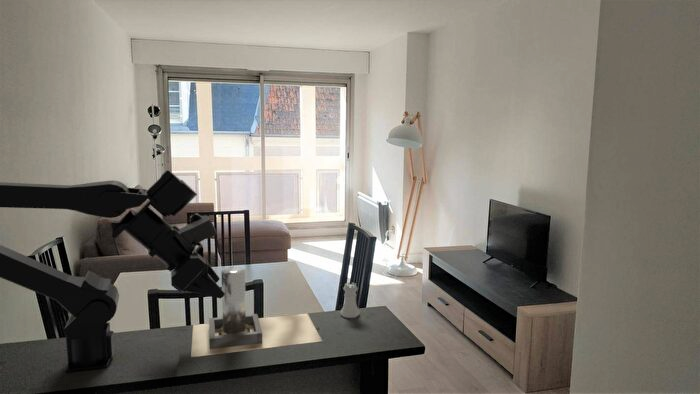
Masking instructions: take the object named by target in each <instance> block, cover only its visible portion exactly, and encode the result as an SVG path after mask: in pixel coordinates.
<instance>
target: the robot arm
mask: <svg viewBox="0 0 700 394" xmlns="http://www.w3.org/2000/svg"><path fill="white" fill-rule="evenodd" d="M196 196H198V194H197V192H196V191H195V190H194V189H192V187H191V186H190V185H188V184H187V183H186V181H184V180H183V179H180V178H179V177H178V176H177V175H175V174H174V173H173V172H172V171H170V170H169V169H166V170H165V171H164V172H163V173H162V174H161V176H160V177H159V178H158V179H157V180H156V181H155V182H154V183H153V184H151V186H150V187H149V188H147V189H146V188H141V187H140V188H137V187H136V188H134V187H129V186H127V185H125V183H123V182H121V181H118V180H103V181H95V182H87V183H79V184H70V185H69V184H66V185H65V184H49V183H48V184H44V183H43V184H42V183H28V182H27V183H26V182H25V183H24V182H6V181H5V182H3V181H0V208H7V209H8V208H12V209H13V208H14V209H16V208H17V209H46V210H47V209H48V210H49V209H50V210H51V209H52V210H53V209H54V210H69V211H74V212H77V213H81V214H85V215H89V216H96V217H99V218H106V219H107V218H108V219H114V218H118V217H120V216H121V215H123V214H124V213H126V211H127V210H129V209H130V210H129V211H128V212H127V213H126V214H124V216H123V217H122V218H120V219H119V220H112V221H111V222H110V227H111V238H112V239H114V240H115V239H117V238H118V237H119V235H121V234H123V232H125V233H126V234H127V235H128V236H130V238H131V239H133V240H134V241H136V242H137V243H138V244H139V245H141V246H142V247H143V248H144V249H146V250H147V251H148V252H147V253H148V256H150V257H151V258H154V257H156V258H157V259H158V260H160V262H162V263H163V264H165V265H166V269H167V270H168V271H169V272H170V275H171V276H170V278H171V281H170V282H171V286H172V287H173V288H174V289H175V290H177V291H178V292H179V293H181V292H184V293H185V292H188V293H193V294H194V293H195V294H198V295H199V294H200V295H202V296H203V295H205V296H207V297H211V298H217V299H222V297H223V296H224V295H225V294H224V292H223V291H222V287H220V286H219V285H218V284H217V283H218V282H219V281H220V280H221V279H220V277H219V275H218V274H217V273H216V272H215V270H214V269H213V268H212V266H211V265H210V263H209V262H208V261H207V259H206V258H205V257H204V246H203V244H202V243H201V242H203V241H205V240H207V239H209V238H213V237H215V236H217V234H218V231H217V229H216V228H215V226H214V224H213V222H212V220H211V218H210V216H209V215H203V216H202V215H200V214H199V213H198V212H197V213H194V214H191V215H190V216H189V224H188V223H186V225H185V226H183V227H181V228H179V227H178V226H177V225H175V224H170V223H168V222H167V221H166V220H164V219H163V218H162V217H161V216H163V217H165V218H167V217H170V216H172V217H176V216H177V215H178V214H179V213H181V211H182V210H184V208H185V207H186V206H188V204H189V203H190V202H191V201H192V200H193V199H194V198H196ZM147 200H148V201H147ZM146 201H147V202H146ZM142 205H143V206H142ZM140 206H141V207H140ZM150 206H151V207H153V209H155V210H156V211H157V212H158V213H159V214H160V215H161V216H160V215H158V213H156V212H155V211H154V210H153V209H151V207H150ZM138 207H140V208H138ZM134 208H138V210H137V211H135V210H133V209H134ZM196 246H197V247H196ZM0 279H3V280H5V281H7V282H10V283H12V284H15V285H17V286H20V287H22V288H26V289H27V290H30V291H31V292H35V293H38V294H40V295H42V296H44V297H46V298H50V299H52V300H54V301H55V302H57V303H58V304H59V305H60V306H61V307H62V308H64V310H65V311H66V312H68V313H69V315H70V316H69V318H68V319H67V322H66V324H65V327H64V328H63V332H64V333H65V342H66V359H67V364H66V366H65V368H64V372H65V373H66V372H67V373H68V372H75V371H85V370H92V369H93V370H94V369H101V368H107V367H108V366H109V363H110V360H111V359H113V357H114V355H115V352H116V350H115V349H116V348H115V347H116V346H115V333H114V331H113V330H111V324H110V321H111V320H112V319H113V318H114V316H115V315H116V312H117V308H118V305H119V300H120V293H119V289H118V288H117V286H116V285H115V284H113V283H111V282H112V279H111V278H104V277H101V276H100V275H98V274H97V273H95V272H93V271H91V270H88V271H87V273H86V275H85V276H75V275H70V274H68V273H66V272H64V271H61V270H58V269H57V268H54V267H52V266H50V265H47V264H45V263H43V262H40V261H38V260H36V259H34V258H32V257H29V256H27V255H24V254H22V253H21V252H18V251H16V250H14V249H10V248H8V247H6V246H4V245H2V244H0Z"/></svg>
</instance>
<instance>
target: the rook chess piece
mask: <svg viewBox="0 0 700 394" xmlns="http://www.w3.org/2000/svg"><path fill="white" fill-rule="evenodd" d="M342 289H343V291H344V294H343V296H344V303H343V307H342V308H341V310H340V315H341V316H342V317H344V318H346V319H355V318H357V317H358V316H360V314H361V313H360V310H359V307H358V306H357V298H356V297H357V293H356V292H357V291H358V289H359V287H358V286H357V283H356V282H355V283H354V282H351V283H350V281H349V282H346V283H344V287H343V288H342Z"/></svg>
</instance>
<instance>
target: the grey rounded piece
mask: <svg viewBox="0 0 700 394" xmlns="http://www.w3.org/2000/svg"><path fill="white" fill-rule="evenodd" d="M221 290H222V291H223V292H224V294H225V295H224V296H223V297H222V298H221V300H222V301H221V302H222V303H221V308H222V310H221V311H222V314H221V315H222V317H223V326H222V327H221V328H220V329H219V336H220V335H229V334H238V333H247V332H250V327H249V326H248V325H247V324H246V315H247V311H246V309H247V308H246V303H247V302H246V270H245V269H244V268H242V267H228V268H226V269H223V270H221Z"/></svg>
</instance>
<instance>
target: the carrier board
mask: <svg viewBox="0 0 700 394" xmlns="http://www.w3.org/2000/svg"><path fill="white" fill-rule="evenodd" d="M246 324H247V325H248V326H249V327H250V332H247V333H238V334H229V335H220V336H219V329H220V328H221V327H222V326H223V316H220V317H209V318H208V323H202V324H201V323H200V324H193V325H192V337H191V350H190V352H191V353H190V358H196V357H197V358H198V357H205V356H206V357H207V356H213V355H220V354H229V353H238V352H245V351H246V352H248V351H255V350H263V349H270V348H271V349H272V348H279V347H280V348H281V347H286V346H287V347H288V346H295V345H297V346H298V345H305V344H312V343H318V342H319V343H320V342H323V340H322V338H321V335H320V334H319V333H318V330H317V328H316V327H315V325H314V323H313V321H312V320H311V317H310V316H309V313H299V314H290V315H289V314H287V315H278V316H268V317H259V316H258V314H257V313H250V314H246Z"/></svg>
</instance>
